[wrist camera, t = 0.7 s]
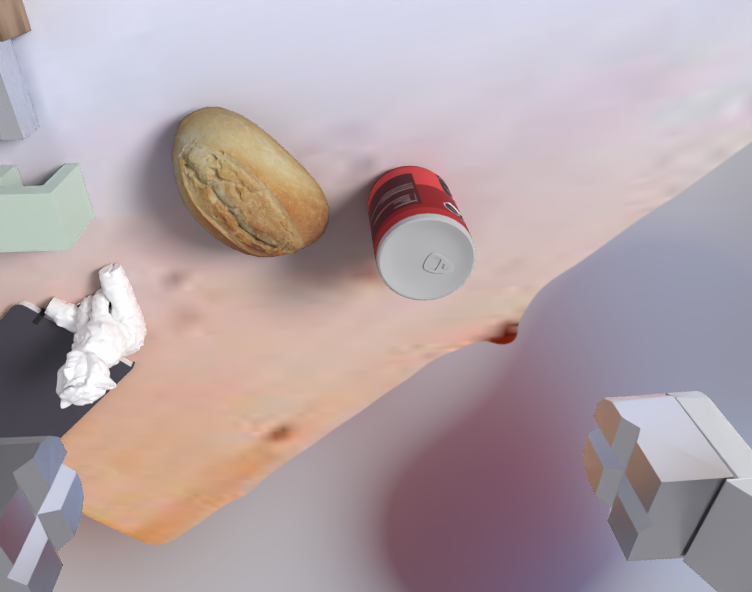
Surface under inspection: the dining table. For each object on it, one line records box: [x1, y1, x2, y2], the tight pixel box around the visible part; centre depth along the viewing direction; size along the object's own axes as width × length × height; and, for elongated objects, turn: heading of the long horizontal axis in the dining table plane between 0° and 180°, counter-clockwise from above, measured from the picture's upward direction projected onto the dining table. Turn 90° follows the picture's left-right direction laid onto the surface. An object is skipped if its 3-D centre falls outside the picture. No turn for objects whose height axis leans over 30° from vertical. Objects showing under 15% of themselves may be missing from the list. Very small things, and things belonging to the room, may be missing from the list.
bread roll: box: [172, 107, 329, 257], centre depth 47 cm, size 10×15×8 cm, turn 46°
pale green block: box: [0, 164, 95, 252], centre depth 47 cm, size 5×6×6 cm
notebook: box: [0, 301, 135, 438], centre depth 61 cm, size 13×2×21 cm
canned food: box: [368, 166, 476, 300], centre depth 48 cm, size 8×8×11 cm
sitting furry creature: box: [44, 263, 147, 409], centre depth 52 cm, size 10×9×12 cm
